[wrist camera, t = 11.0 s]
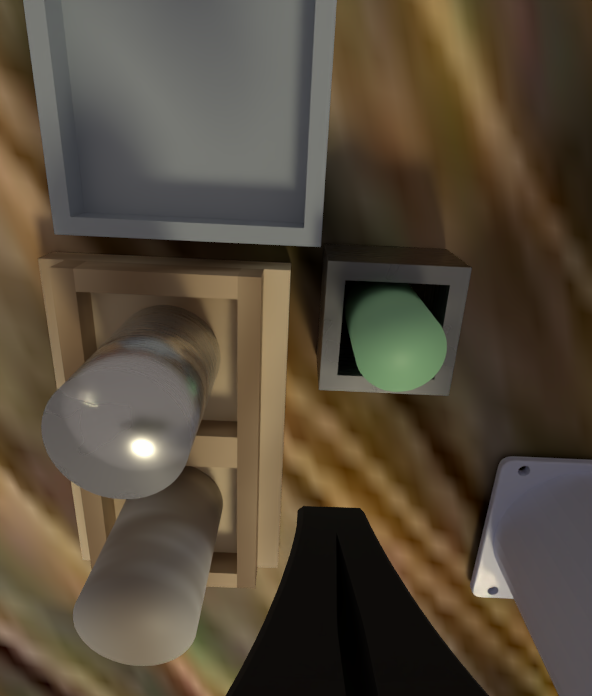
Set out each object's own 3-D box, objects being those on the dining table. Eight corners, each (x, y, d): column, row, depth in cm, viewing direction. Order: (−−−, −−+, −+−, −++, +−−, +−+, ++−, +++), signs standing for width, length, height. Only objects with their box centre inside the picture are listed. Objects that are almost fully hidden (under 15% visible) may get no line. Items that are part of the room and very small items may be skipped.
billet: (220, 308, 19) (189, 376, 13) (220, 404, 20) (191, 503, 14) (112, 301, 19) (32, 367, 13) (118, 398, 20) (50, 495, 14)
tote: (337, -60, 15) (342, -85, 14) (319, 237, 19) (321, 246, 17) (41, -76, 15) (9, -103, 14) (76, 225, 19) (54, 234, 17)
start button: (421, 274, 19) (453, 309, 15) (412, 344, 20) (439, 393, 16) (347, 271, 19) (359, 304, 15) (341, 341, 20) (350, 389, 16)
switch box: (446, 249, 19) (471, 267, 16) (428, 361, 21) (448, 395, 18) (323, 243, 19) (328, 260, 16) (316, 356, 21) (318, 389, 18)
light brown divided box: (291, 262, 19) (285, 327, 12) (278, 548, 24) (270, 701, 18) (53, 251, 19) (-81, 310, 12) (92, 540, 24) (14, 691, 18)
